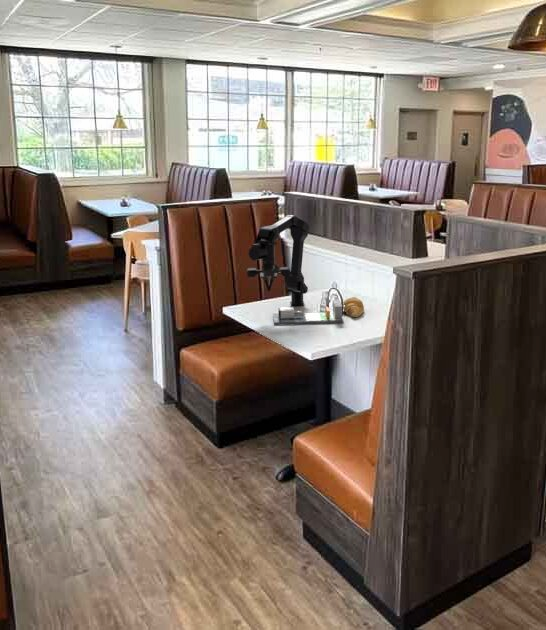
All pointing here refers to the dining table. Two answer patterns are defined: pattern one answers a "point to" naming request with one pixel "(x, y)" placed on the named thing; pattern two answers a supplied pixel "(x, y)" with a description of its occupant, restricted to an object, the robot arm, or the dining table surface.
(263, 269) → the robot arm
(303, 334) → the dining table surface
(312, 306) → the dining table surface
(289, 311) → the threaded rod block
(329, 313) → the bar
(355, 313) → the croissant
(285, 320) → the gauge board
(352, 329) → the dining table surface
